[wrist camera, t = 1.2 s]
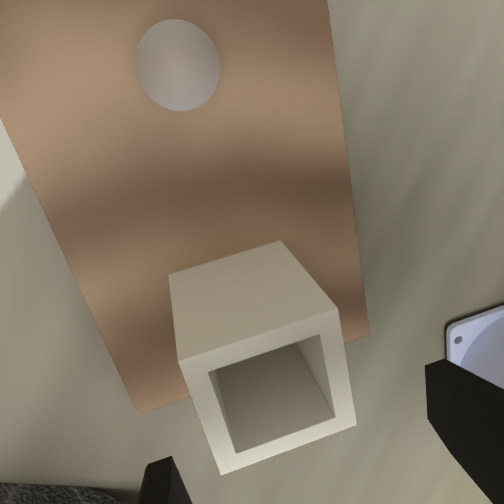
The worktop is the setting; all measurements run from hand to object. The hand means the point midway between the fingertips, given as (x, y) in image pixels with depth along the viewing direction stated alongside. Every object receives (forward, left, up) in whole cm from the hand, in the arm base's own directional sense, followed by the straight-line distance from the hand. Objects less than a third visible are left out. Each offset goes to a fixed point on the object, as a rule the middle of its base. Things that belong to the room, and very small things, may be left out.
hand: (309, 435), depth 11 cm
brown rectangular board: (+4, 0, -9) cm, 10 cm away
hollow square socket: (-1, 0, -8) cm, 8 cm away
